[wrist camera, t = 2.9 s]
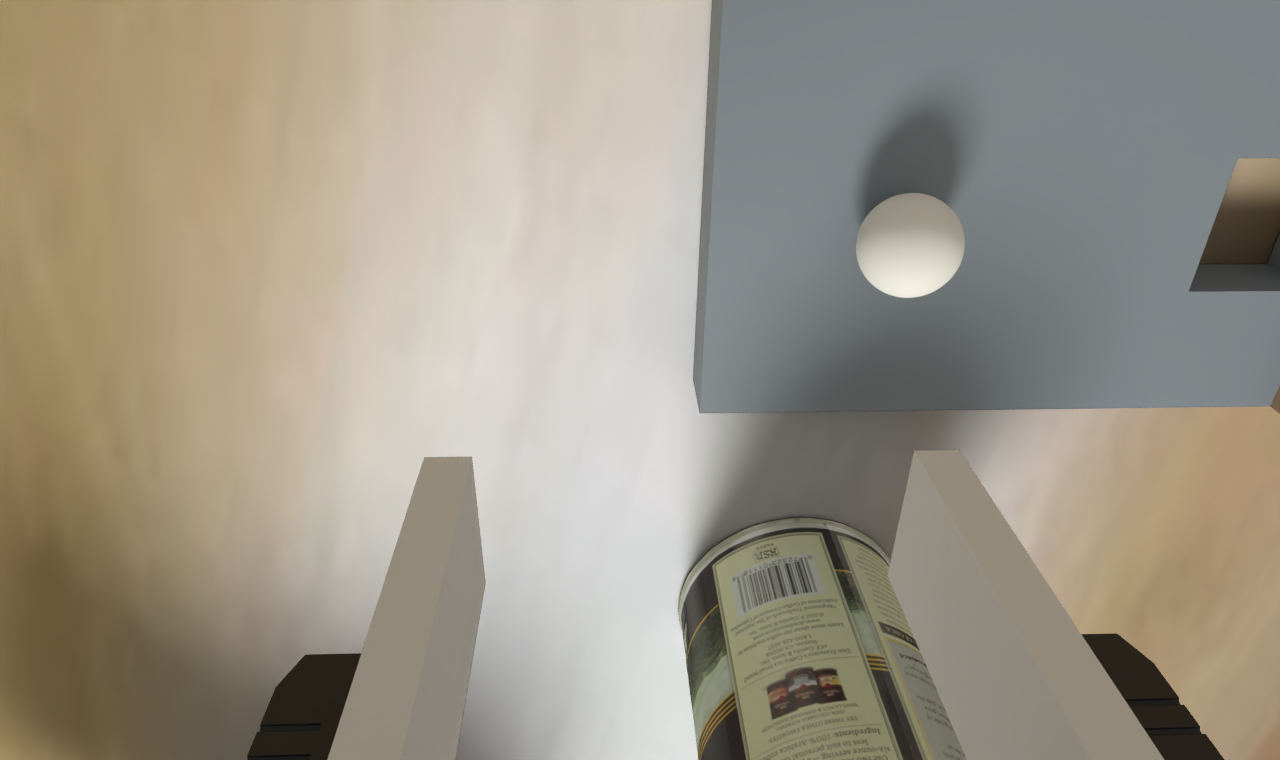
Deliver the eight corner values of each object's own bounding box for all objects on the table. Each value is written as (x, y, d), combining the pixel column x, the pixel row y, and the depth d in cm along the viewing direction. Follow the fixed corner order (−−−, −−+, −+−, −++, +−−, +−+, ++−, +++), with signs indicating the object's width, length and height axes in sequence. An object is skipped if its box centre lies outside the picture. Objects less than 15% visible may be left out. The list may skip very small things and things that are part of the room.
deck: (692, 379, 32) (704, 435, 29) (712, -18, 25) (730, -6, 22) (1334, 372, 33) (1419, 426, 30) (1520, -10, 27) (1659, 3, 23)
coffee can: (775, 707, 42) (847, 1034, 30) (632, 606, 38) (647, 935, 26) (943, 597, 39) (1101, 914, 27) (804, 474, 35) (914, 780, 23)
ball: (838, 274, 28) (864, 315, 25) (851, 179, 26) (881, 212, 23) (932, 274, 28) (969, 314, 25) (951, 179, 26) (993, 212, 23)
